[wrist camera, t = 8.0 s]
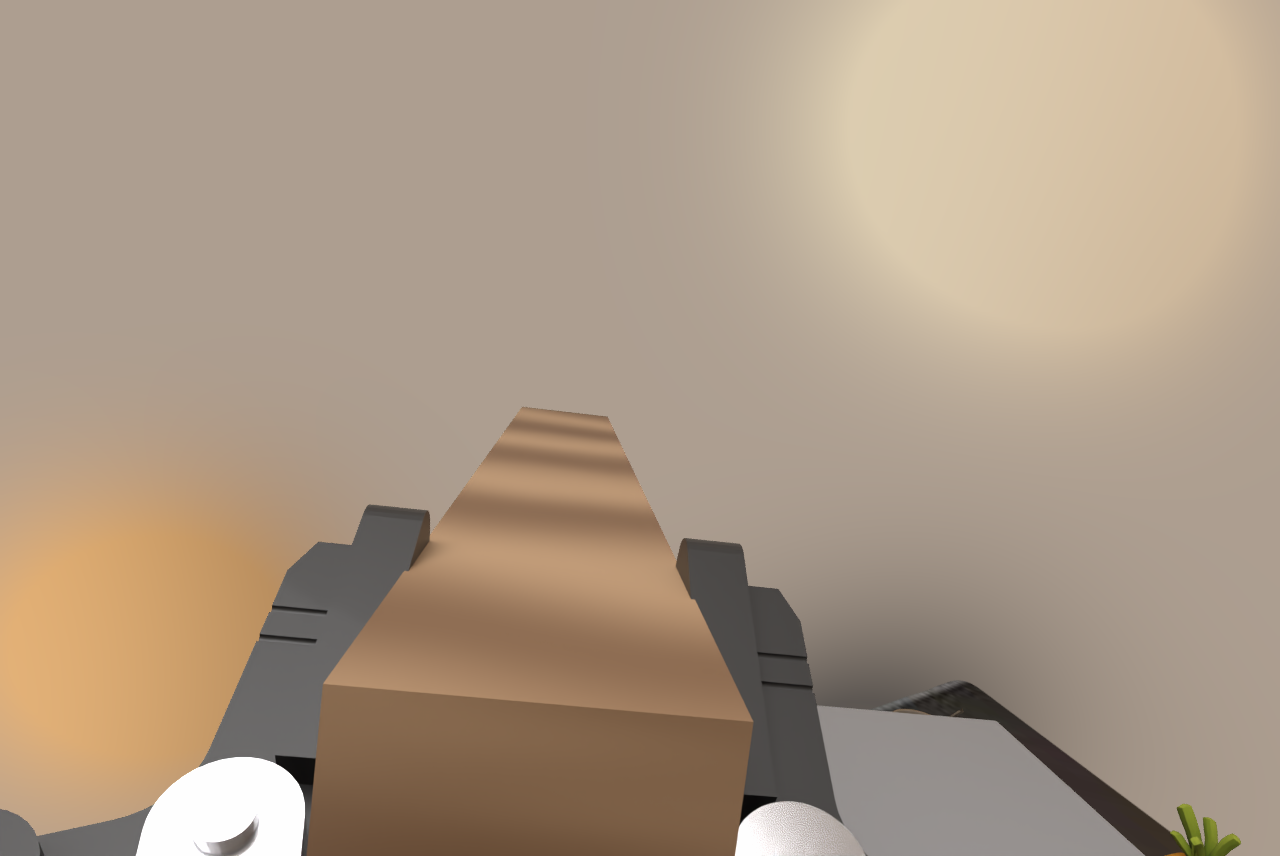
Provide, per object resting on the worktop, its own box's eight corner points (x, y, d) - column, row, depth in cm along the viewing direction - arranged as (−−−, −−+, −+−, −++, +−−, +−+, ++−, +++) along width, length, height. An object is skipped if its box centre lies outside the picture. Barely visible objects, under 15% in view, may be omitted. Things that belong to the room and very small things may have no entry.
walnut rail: (695, 1148, 7) (753, 722, 7) (281, 1128, 7) (322, 683, 7) (596, 508, 35) (607, 416, 35) (511, 499, 35) (522, 407, 35)
